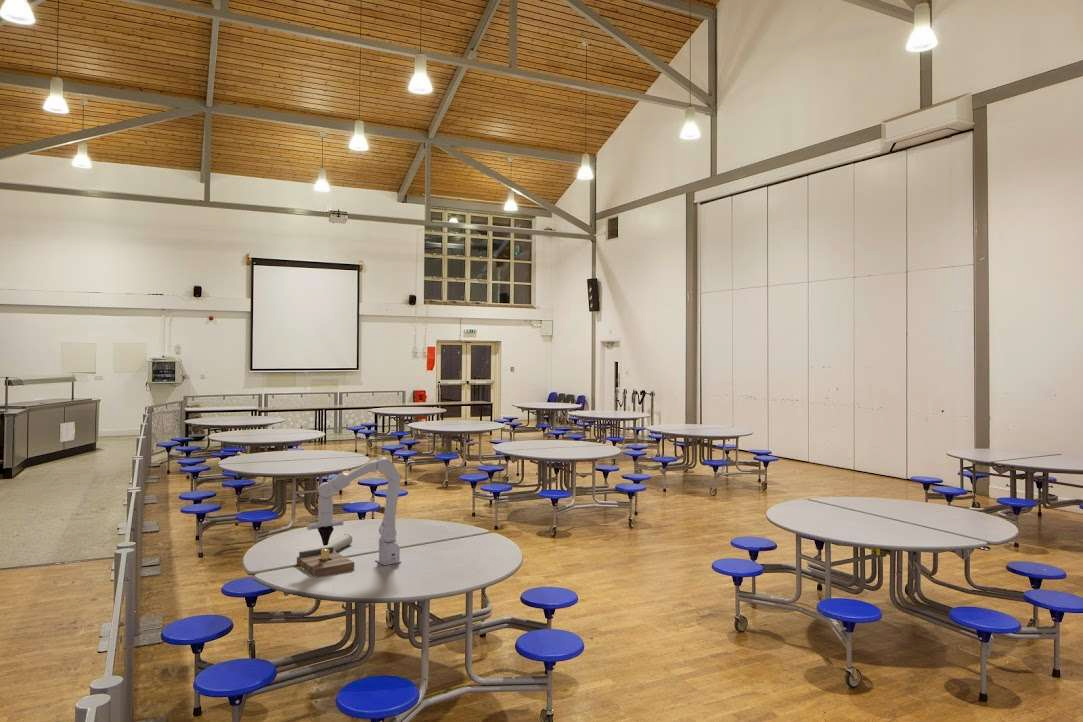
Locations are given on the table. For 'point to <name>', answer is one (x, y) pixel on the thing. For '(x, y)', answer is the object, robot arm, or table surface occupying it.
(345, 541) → the tube
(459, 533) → the table surface
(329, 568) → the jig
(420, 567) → the table surface
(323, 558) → the brass cylinder
